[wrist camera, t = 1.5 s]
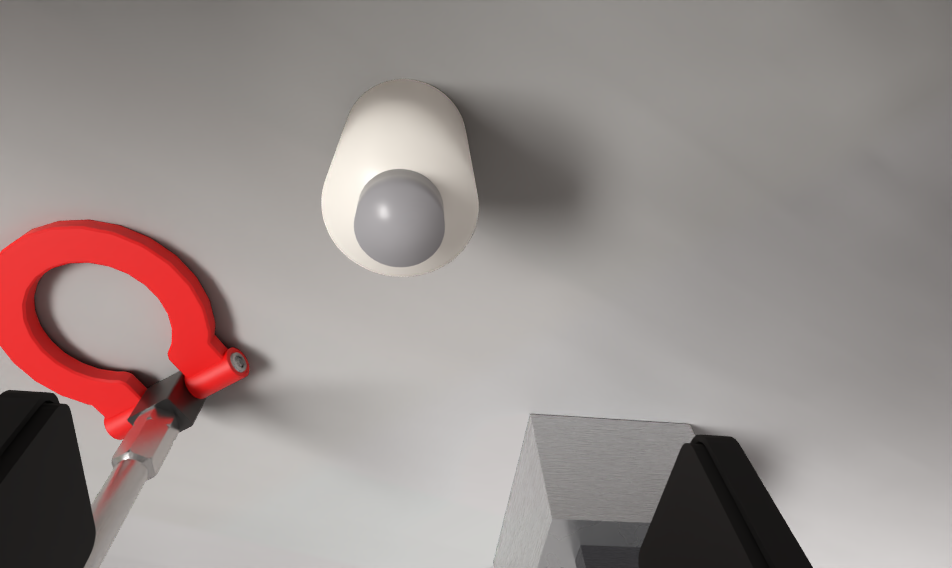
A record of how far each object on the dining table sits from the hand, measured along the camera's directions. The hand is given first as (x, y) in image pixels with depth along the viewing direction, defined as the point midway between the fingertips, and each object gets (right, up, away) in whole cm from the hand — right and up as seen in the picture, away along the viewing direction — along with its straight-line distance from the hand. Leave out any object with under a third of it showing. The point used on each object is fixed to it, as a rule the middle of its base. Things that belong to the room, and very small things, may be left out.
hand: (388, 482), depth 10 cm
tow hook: (-13, +2, +16) cm, 21 cm away
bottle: (-1, +8, +13) cm, 16 cm away
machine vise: (+7, -9, +24) cm, 27 cm away
